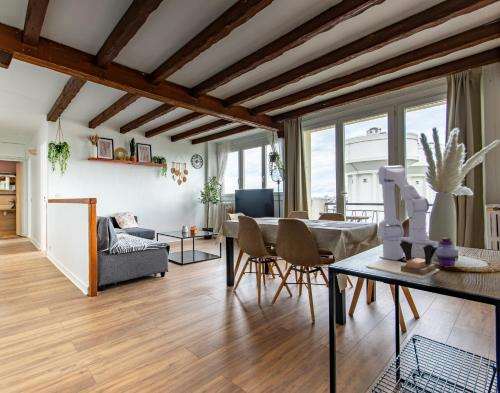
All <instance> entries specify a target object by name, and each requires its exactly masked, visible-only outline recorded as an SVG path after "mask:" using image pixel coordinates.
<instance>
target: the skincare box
mask: <svg viewBox="0 0 500 393" xmlns="http://www.w3.org/2000/svg"><path fill="white" fill-rule="evenodd" d="M426 239H427V240H428V233H427V231H426ZM423 247H427V246H425V245H419V244H412V249H411V258H413V257H414V258H413V259H416V258H421V259H425V253H424V249H423Z"/></svg>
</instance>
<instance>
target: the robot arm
mask: <svg viewBox="0 0 500 393" xmlns="http://www.w3.org/2000/svg"><path fill="white" fill-rule="evenodd" d="M377 174H378V175H377V176H378V183H379V184H380V185H381V187H382V188H381V189H382V201H383V215H384V216H383V217H384V219H382V220H381V221H380V222H379V223H378V229H377V230H378V231H377V233H378V236H379V237H380V238H381V240H382V255H380V256H379V257H378V258H381V259H385V260H391V261H398V260H401V259H403V257H404V258H405V260H406V262H407V261H408V260H412V257H411V249H412V244H419V245H425V246H427V247H423V249H424V253H425V258H424V259H425V264H426V265H430V264H432V260H433V257H434V254H436V252H435V251H436V249H437V248H440V247H439V244H440V243H439V241H435V240H430V239H428V238H427V239H426V232H427V222H426V221H427V219H426V218H427V217H426V216H427V215H426V214H427V213H428V211H429V209H430V204H429V201H428V199H427V198H426V197H423V196H421V195H420V194H419V192H418V191H417V189H416V188H415V186H413V185H412V184H411V185H410V184H409V182H408V181H407V178H406V176H405V175H406V169H405V167H404V166H403V165H402V164H401V165H381V166H380V167H379V169H378V172H377ZM395 185H397V187H398V188H399V189H400V191H399V194H400V195H401V197H402V199H403V201H404V202H405V210H406V214H407V217H408V232H409V233H408V236H407V237H406V236H404V235H405V230H404V226H403V223H402V222H401V221H400V220H398V219H397V211H396V198H395V188H394V186H395Z"/></svg>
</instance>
